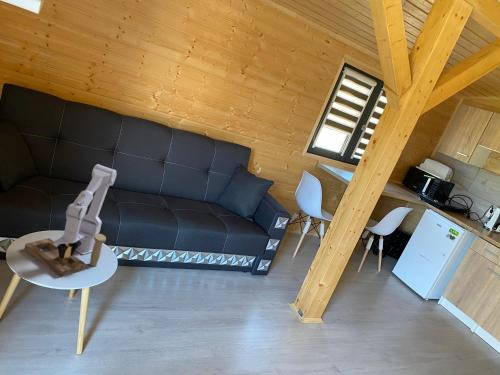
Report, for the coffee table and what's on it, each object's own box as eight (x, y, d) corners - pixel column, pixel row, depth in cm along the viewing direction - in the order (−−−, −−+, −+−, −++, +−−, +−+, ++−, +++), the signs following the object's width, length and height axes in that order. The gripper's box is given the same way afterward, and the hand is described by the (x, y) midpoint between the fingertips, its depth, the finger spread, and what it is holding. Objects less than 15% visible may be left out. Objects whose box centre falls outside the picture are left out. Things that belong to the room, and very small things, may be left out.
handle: (90, 268, 177) (97, 240, 174) (85, 261, 182) (92, 233, 178) (100, 267, 181) (107, 240, 177) (95, 260, 185) (102, 233, 181)
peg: (63, 260, 175) (68, 241, 173) (70, 265, 174) (74, 246, 171) (55, 263, 171) (59, 244, 169) (61, 268, 170) (66, 248, 167)
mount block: (48, 243, 185) (49, 238, 184) (84, 269, 175) (85, 263, 175) (24, 249, 174) (25, 243, 174) (61, 277, 165) (62, 271, 164)
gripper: (79, 222, 176) (73, 248, 179) (51, 228, 163) (45, 256, 166) (90, 229, 173) (83, 255, 177) (62, 236, 160) (55, 263, 164)
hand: (65, 256), depth 171 cm, fingers closed on peg, 4 cm apart
